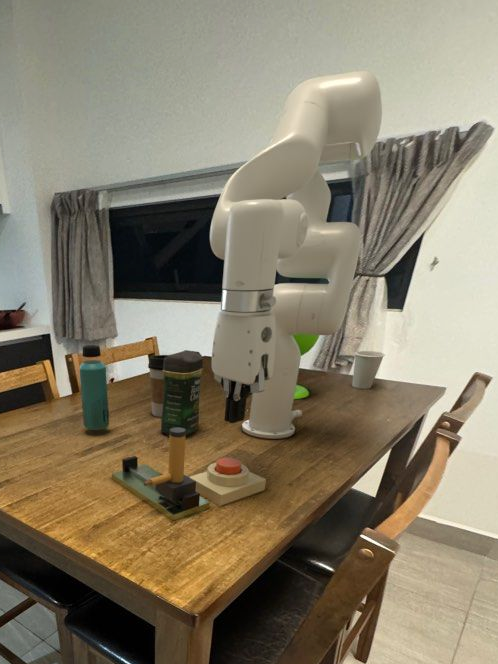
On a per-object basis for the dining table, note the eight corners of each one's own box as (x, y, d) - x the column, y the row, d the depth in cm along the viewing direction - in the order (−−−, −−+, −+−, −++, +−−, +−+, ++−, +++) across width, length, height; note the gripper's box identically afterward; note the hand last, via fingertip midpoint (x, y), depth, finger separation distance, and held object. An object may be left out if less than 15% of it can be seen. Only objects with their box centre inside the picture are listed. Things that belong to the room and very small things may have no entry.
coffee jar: (184, 440, 106) (188, 357, 96) (156, 434, 110) (157, 353, 99) (203, 428, 112) (209, 349, 102) (176, 423, 116) (179, 346, 106)
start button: (228, 464, 85) (229, 455, 84) (245, 472, 81) (246, 463, 81) (210, 469, 83) (211, 461, 82) (227, 478, 80) (228, 469, 79)
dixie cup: (374, 384, 146) (383, 351, 141) (376, 390, 140) (386, 356, 134) (347, 382, 149) (354, 350, 143) (347, 388, 142) (355, 355, 137)
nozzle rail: (145, 469, 92) (145, 453, 90) (209, 508, 78) (211, 489, 76) (111, 479, 88) (111, 462, 86) (173, 521, 74) (173, 502, 72)
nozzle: (177, 487, 81) (180, 422, 75) (195, 497, 78) (199, 431, 71) (136, 500, 77) (135, 433, 71) (153, 512, 74) (153, 442, 67)
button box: (230, 473, 90) (233, 454, 88) (264, 490, 83) (267, 470, 81) (188, 487, 85) (189, 467, 83) (220, 506, 78) (222, 485, 76)
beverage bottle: (106, 436, 108) (102, 348, 98) (80, 435, 110) (73, 348, 99) (112, 427, 114) (109, 343, 103) (87, 426, 115) (81, 342, 104)
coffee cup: (143, 416, 121) (143, 358, 113) (153, 408, 128) (154, 352, 120) (172, 420, 118) (174, 360, 110) (182, 410, 125) (184, 353, 117)
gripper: (303, 304, 64) (282, 428, 74) (230, 296, 74) (221, 405, 85) (266, 309, 61) (249, 438, 71) (195, 300, 71) (190, 413, 81)
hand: (234, 420), depth 78 cm, fingers closed
